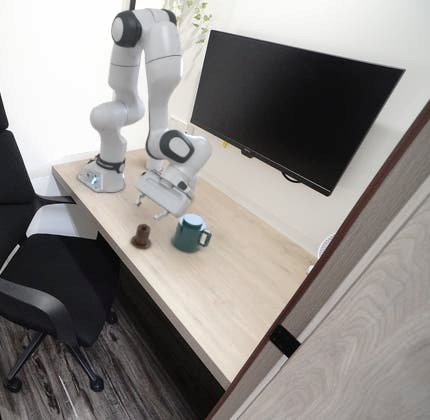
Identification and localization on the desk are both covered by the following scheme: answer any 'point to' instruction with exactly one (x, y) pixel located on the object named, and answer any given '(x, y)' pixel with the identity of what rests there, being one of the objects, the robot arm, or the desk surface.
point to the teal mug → (190, 233)
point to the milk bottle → (194, 182)
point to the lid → (141, 237)
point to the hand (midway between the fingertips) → (145, 212)
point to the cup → (154, 164)
